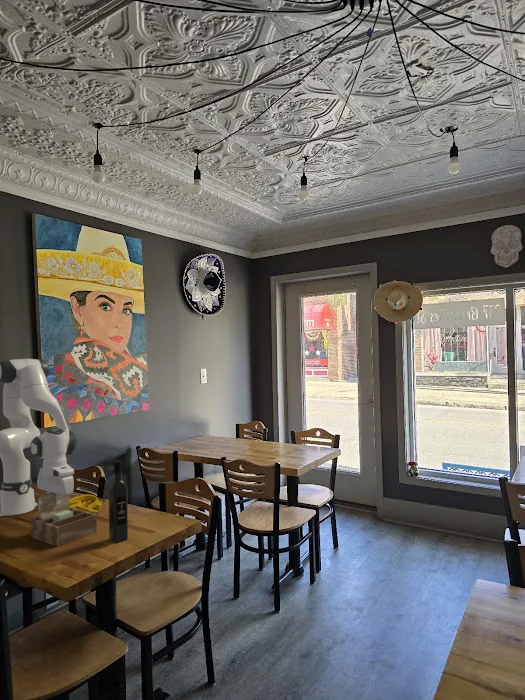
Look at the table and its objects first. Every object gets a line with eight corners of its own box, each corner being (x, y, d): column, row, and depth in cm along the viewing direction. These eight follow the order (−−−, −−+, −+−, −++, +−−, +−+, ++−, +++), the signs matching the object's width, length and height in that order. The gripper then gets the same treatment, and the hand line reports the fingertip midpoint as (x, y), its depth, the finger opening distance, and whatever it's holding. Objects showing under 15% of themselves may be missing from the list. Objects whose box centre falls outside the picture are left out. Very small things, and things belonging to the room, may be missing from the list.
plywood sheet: (38, 532, 181) (38, 496, 181) (66, 522, 191) (66, 489, 191) (42, 533, 179) (42, 497, 180) (69, 524, 189) (69, 490, 190)
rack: (30, 537, 179) (30, 519, 180) (69, 523, 194) (69, 507, 194) (57, 546, 169) (57, 527, 170) (96, 531, 184) (96, 514, 184)
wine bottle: (128, 539, 175) (128, 461, 176) (114, 543, 172) (114, 463, 172) (122, 535, 180) (121, 459, 180) (108, 539, 176) (107, 461, 176)
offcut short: (53, 522, 180) (53, 514, 180) (66, 517, 185) (66, 510, 185) (59, 523, 178) (59, 516, 178) (72, 519, 183) (72, 511, 183)
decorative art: (88, 493, 229) (121, 505, 210) (88, 499, 229) (121, 511, 210) (46, 504, 213) (78, 517, 194) (46, 510, 213) (78, 524, 194)
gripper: (33, 467, 189) (32, 500, 188) (62, 473, 177) (62, 509, 177) (47, 464, 194) (47, 496, 194) (76, 470, 183) (76, 505, 182)
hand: (54, 502), depth 185 cm, fingers closed on plywood sheet, 2 cm apart
